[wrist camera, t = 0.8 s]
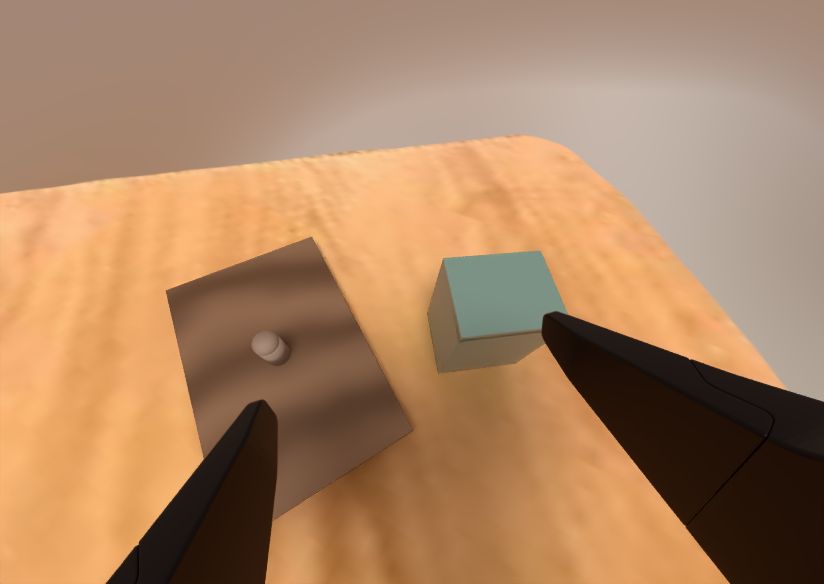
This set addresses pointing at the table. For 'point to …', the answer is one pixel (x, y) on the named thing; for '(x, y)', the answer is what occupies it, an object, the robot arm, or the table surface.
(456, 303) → the seafoam square prism
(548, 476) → the table surface
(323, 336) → the stud board
